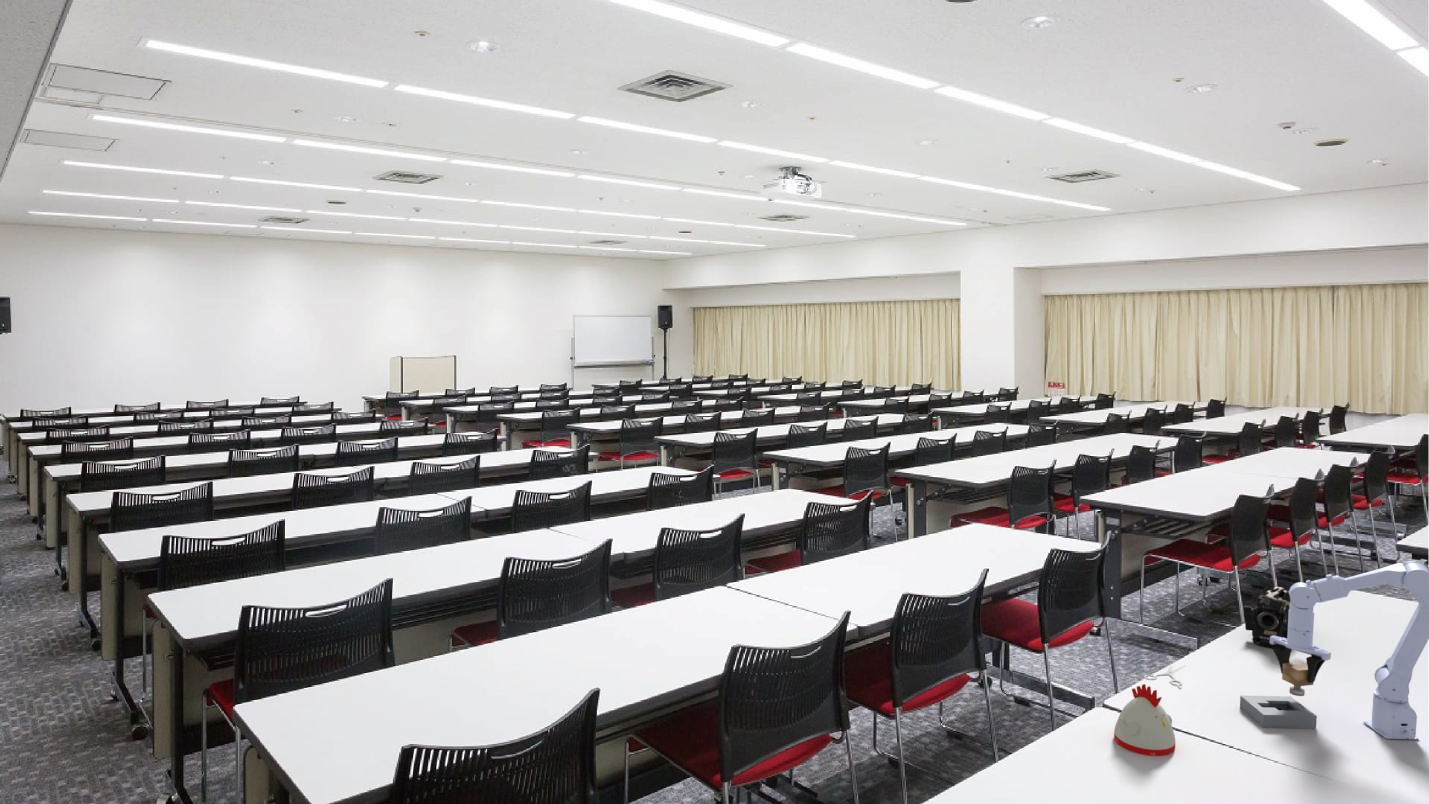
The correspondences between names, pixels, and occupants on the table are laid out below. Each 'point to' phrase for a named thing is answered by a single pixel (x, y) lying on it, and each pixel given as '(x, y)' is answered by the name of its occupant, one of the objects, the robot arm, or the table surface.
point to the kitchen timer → (1145, 725)
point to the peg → (1296, 677)
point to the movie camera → (1269, 616)
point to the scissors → (1169, 675)
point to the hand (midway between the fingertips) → (1297, 677)
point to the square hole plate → (1278, 712)
